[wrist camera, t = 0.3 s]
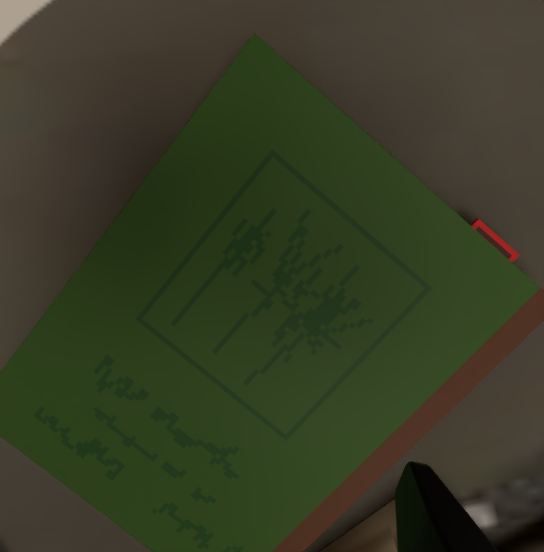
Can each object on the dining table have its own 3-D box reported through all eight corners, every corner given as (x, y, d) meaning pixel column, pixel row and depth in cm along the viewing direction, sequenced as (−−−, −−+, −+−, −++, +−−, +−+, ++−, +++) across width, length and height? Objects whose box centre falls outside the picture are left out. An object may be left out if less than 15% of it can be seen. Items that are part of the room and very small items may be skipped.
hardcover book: (244, 560, 28) (236, 615, 24) (16, 383, 26) (-30, 413, 23) (528, 278, 23) (572, 292, 20) (270, 49, 22) (265, 18, 18)
